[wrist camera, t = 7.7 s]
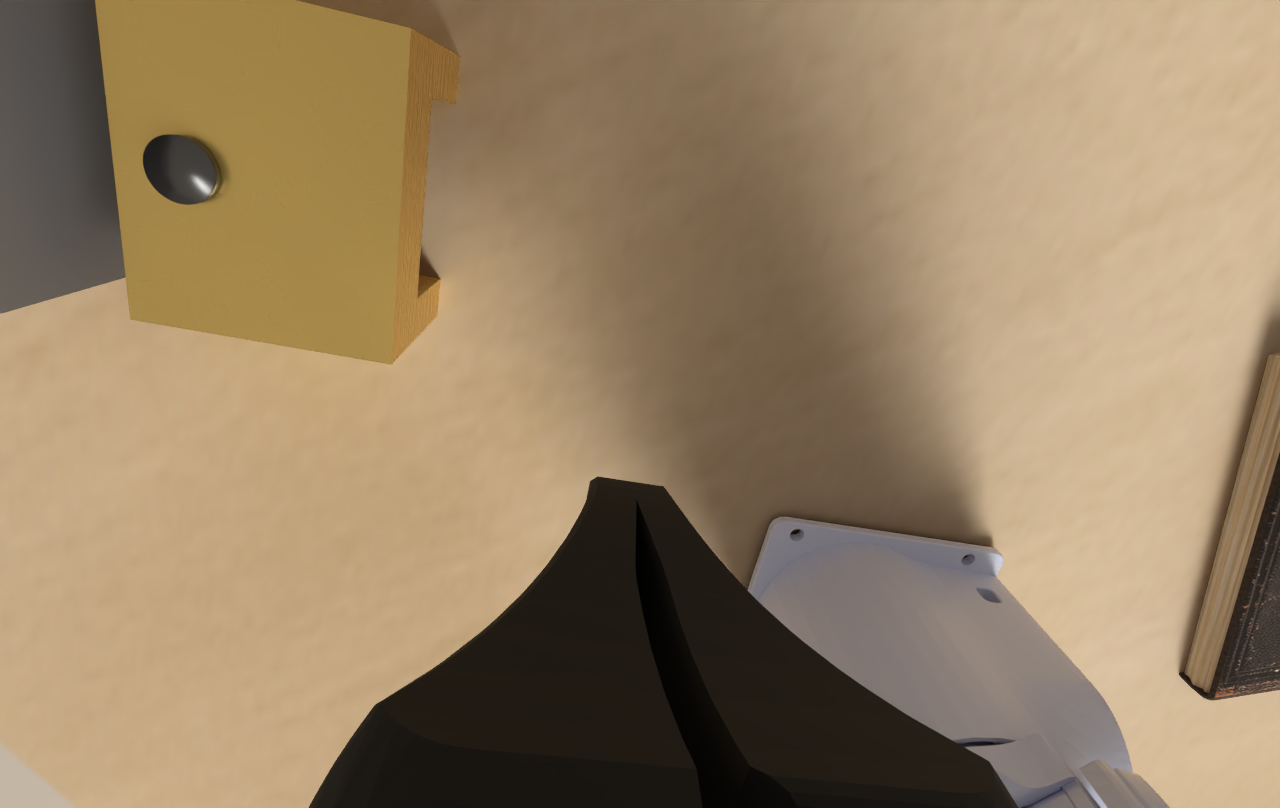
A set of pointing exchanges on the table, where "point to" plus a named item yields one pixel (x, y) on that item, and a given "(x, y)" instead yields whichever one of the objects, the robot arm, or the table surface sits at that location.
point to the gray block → (54, 155)
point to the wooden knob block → (273, 169)
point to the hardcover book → (1245, 569)
